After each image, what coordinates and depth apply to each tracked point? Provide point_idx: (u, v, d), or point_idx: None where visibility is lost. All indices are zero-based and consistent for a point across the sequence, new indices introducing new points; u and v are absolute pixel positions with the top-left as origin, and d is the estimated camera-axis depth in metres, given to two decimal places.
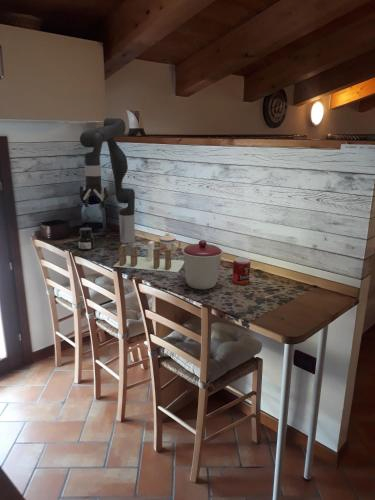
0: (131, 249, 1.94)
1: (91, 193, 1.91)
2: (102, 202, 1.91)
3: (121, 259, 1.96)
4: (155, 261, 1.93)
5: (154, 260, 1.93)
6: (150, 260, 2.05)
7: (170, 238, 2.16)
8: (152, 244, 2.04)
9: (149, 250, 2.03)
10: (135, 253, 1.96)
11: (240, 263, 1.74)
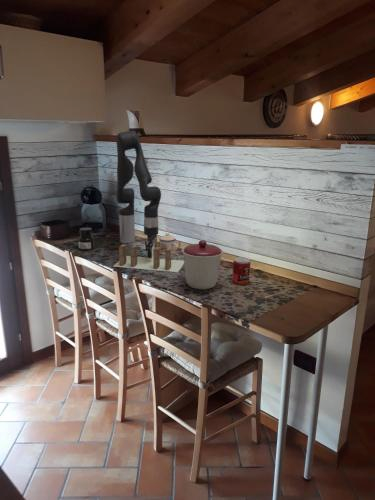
0: (131, 249, 1.94)
1: None
2: None
3: (121, 259, 1.96)
4: (155, 261, 1.93)
5: (154, 260, 1.93)
6: (150, 260, 2.05)
7: (170, 238, 2.16)
8: None
9: None
10: (135, 253, 1.96)
11: (240, 263, 1.74)
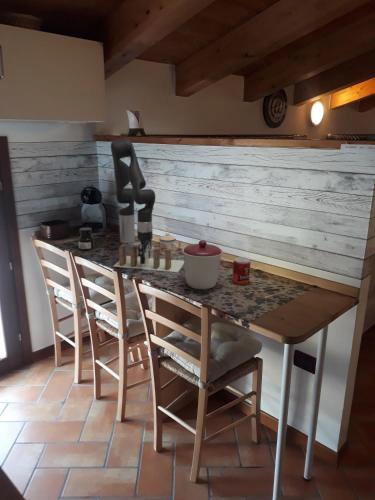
0: (131, 249, 1.94)
1: (146, 248, 1.94)
2: (149, 252, 2.00)
3: (121, 259, 1.96)
4: (155, 261, 1.93)
5: (154, 260, 1.93)
6: (144, 266, 1.95)
7: (170, 238, 2.16)
8: None
9: None
10: (135, 253, 1.96)
11: (240, 263, 1.74)
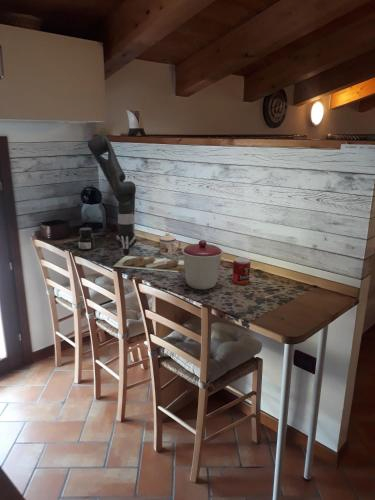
0: (150, 261, 1.93)
1: None
2: None
3: (129, 263, 1.96)
4: (164, 266, 1.92)
5: (165, 265, 1.92)
6: (147, 266, 1.95)
7: (170, 238, 2.16)
8: None
9: (157, 263, 1.93)
10: None
11: (240, 263, 1.74)
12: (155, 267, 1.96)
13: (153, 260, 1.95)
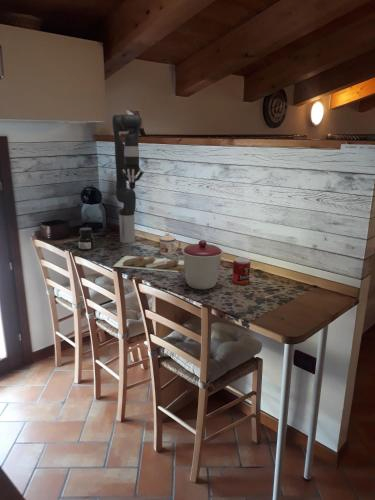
0: (150, 261, 1.93)
1: None
2: None
3: (129, 263, 1.96)
4: (164, 266, 1.92)
5: (165, 265, 1.92)
6: (147, 266, 1.95)
7: (170, 238, 2.16)
8: None
9: (157, 263, 1.93)
10: None
11: (240, 263, 1.74)
12: (155, 267, 1.96)
13: (153, 260, 1.95)
